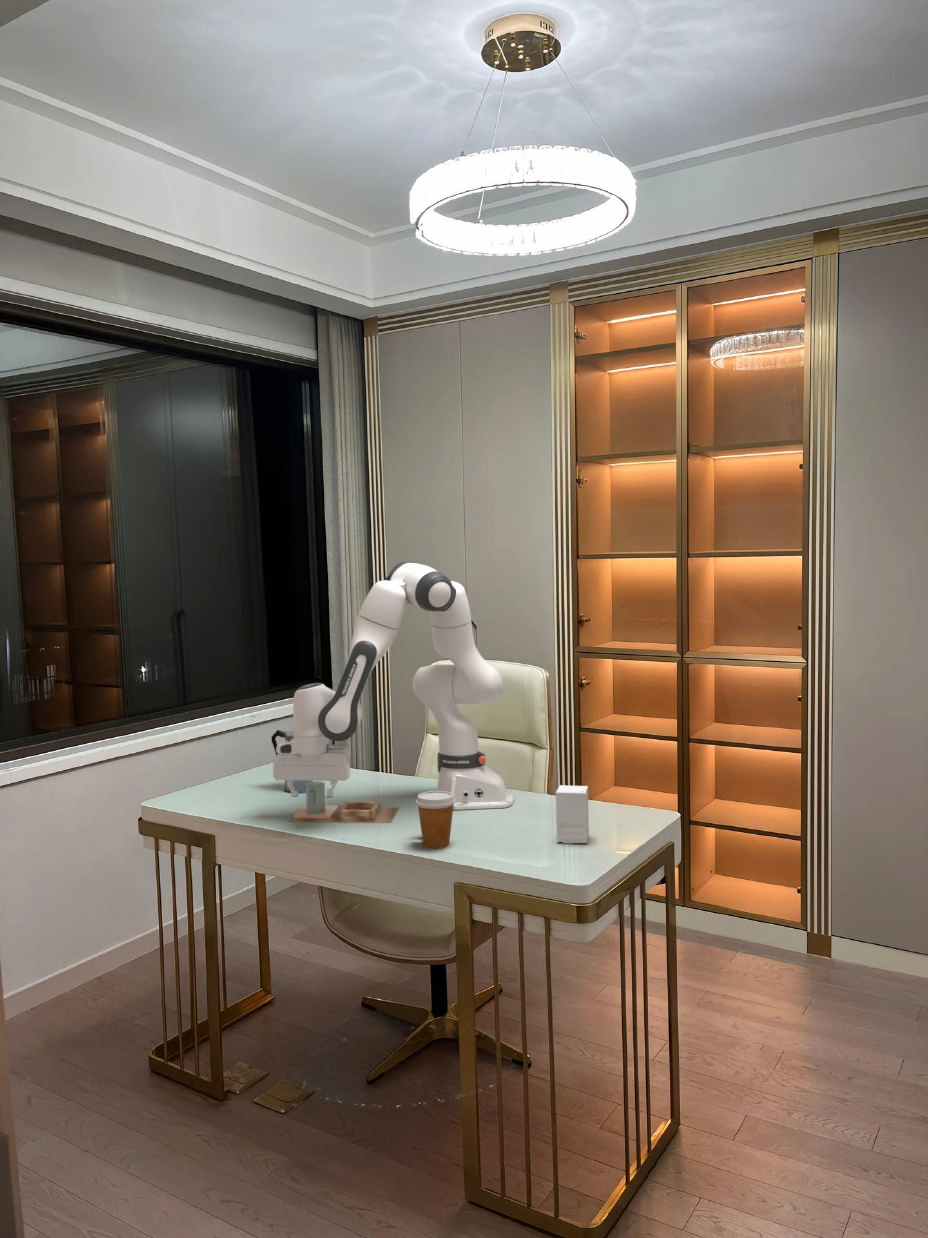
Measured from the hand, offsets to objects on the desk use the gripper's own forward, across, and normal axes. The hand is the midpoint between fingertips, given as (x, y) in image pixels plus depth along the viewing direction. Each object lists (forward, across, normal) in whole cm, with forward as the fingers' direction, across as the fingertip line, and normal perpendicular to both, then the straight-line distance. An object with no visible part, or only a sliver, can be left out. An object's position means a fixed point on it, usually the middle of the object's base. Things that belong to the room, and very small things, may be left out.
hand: (312, 796), depth 248 cm
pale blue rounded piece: (+5, 0, -2) cm, 5 cm away
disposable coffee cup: (+7, -35, +19) cm, 40 cm away
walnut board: (+7, -8, -3) cm, 11 cm away
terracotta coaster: (+6, 0, -4) cm, 7 cm away
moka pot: (+7, +13, -33) cm, 36 cm away
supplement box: (+7, -68, +14) cm, 70 cm away
